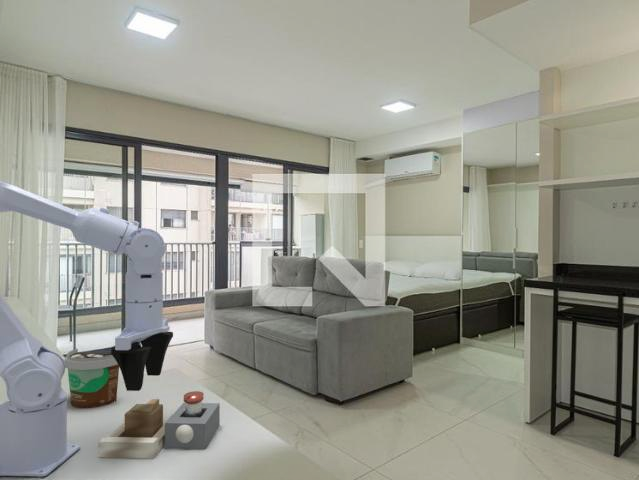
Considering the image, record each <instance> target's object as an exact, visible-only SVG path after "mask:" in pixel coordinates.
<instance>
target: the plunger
mask: <svg viewBox="0 0 639 480" xmlns="http://www.w3.org/2000/svg"><path fill="white" fill-rule="evenodd" d="M204 395H205V394H204V392H203V391H199V390H195V391H194V390H193V391H189V392H186V393H185V394H184V395H183V403H184V402H185V403H186V417H200V418H201V416H202V403H203V402H202V401H204V399H205V398H204Z"/></svg>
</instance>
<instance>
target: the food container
mask: <svg viewBox="0 0 639 480" xmlns="http://www.w3.org/2000/svg"><path fill="white" fill-rule="evenodd" d="M64 362H65V369H67V376H68V384H69V385H68V386H69V395H70V398H69V399H70V404H71V406H72V407H73V408H76V409H93V408H94V409H95V408H99V407H103V406H108V405H110V403H111V404H113V403H115V402H117V400H118V399H117V398H118V396H117V395H118V387H119V386H118V385H119V373H120V367H119V365H118V363H117V361H116V360H115V358H114V357H113V356H112V354H111V355H106V354H102V353H98V352H95V353H81V352H79V349H78V348H75V349H72V350H70V351H68V352H67V354H66V356H65V358H64ZM114 401H115V402H114ZM112 402H113V403H112Z"/></svg>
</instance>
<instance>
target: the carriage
mask: <svg viewBox="0 0 639 480" xmlns="http://www.w3.org/2000/svg"><path fill="white" fill-rule="evenodd" d="M124 423H125V437H142V438H152V437H153V436H154V435H155V434H156V433H157V432H158V431H159V430H160V429H161V427H162V426H163V425H164V404H162V403H161V404H160V403H159V404H146V403H136V404H135V405H134V406H132V407H131V408H130V409H129V410H128V411H127V412H125V413H124Z"/></svg>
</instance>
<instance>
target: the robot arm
mask: <svg viewBox="0 0 639 480" xmlns="http://www.w3.org/2000/svg"><path fill="white" fill-rule="evenodd" d="M6 212H15V213H19V214H22V215H25V216H28V217H30V218H34V219H36V220H40V221H44V222H45V223H48V224H52V225H54V226H59V227H62V228H64V229H67V230H70V232H71V233H72V236H73V238H74V239H75V241H76V242H77V243H81V244H84V245H86V246H89V247H92V248H96V249H98V250H100V251H103V252H107V253H110V254H112V255H115V256H119V255H121V254H125V256H126V257H127V259H126V273H125V293H124V294H125V297H124V298H125V302H124V303H125V304H124V305H125V309H124V311H125V318H124V319H125V324H124V325H125V327H124V328H123V329H122V331H121V332H120V334H119V335H118V336H115V337H114V346H111V347H110V354H111V355H112V356H113V357H114V358H115V360H116V361H117V363H118V365H119V371H120V372H121V375H122V378H123V383H124V385H125V389H126V391H128V392H134V391H135V392H139V391H141V390H142V388H143V385H144V377H145V376H144V375H145V372H146V376H153V377H154V376H155V377H156V376H158V377H159V376H160V375H161V373H162V369H163V366H164V361H165V356H166V353H167V350H168V348H169V345H170V342H171V341H172V339H173V337H174V332H173V331H170V329H171V328H170V327H171V326H170V325H169V318H164V313H163V312H164V308H163V307H164V305H163V304H164V303H163V302H164V301H163V300H164V292H163V291H164V290H163V289H164V285H163V283H164V279H163V278H164V277H163V276H164V274H163V272H162V271H163V261H162V258H163V257H164V254H165V253H166V251H167V245H165V241H164V239H163V237H162V236H161V234H160V233H159V232H158V231H156V230H154V229H151V228H145V227H140V228H139V226H140V222H138V221H137V220H132V221H128V220H125V219H123V218H120V217H118V216H115V215H113V214H110V210H109V209H107V208H105V207H100V209H96V208H94V207H89V208H87V209H84V210H81V211H79V210H76V209H72V208H70V207H68V206H66V205H64V204H60V203H58V202H55V201H54V200H53V201H52V200H51V199H48V198H46V197H43V196H40V195H38V194H35V193H33V192H31V191H28V190H26V189H23V188H20V187H18V186H16V185H13V184H10V183H7V182H3V181H0V213H6ZM64 361H65V358H63V357H62V356H61V354H59V353H57V352H56V351H54V350H51V349H49V348H48V347H46V346H45V344H43V342H42V341H41V340H40V339H39V338H38V337H36V336H35V335H33V334H32V333H31V332H30V331H29V329H27V327H26V326H25V324H24V323H23V322H22V321H21V319H20V318H19V316H18V315H17V314H16V313H15V311H14V310H13V309H12V308H11V306H10V305H9V304H8V303H7V300H6V299H5V298H4V297H3V296H2V294H1V293H0V377H1V378H2V380H3V381H4V383H5V390H6V397H7V399H8V400H7V401H5V402H2V403H0V476H1V477H2V476H7V477H8V476H9V477H46V476H48V475H49V474H50V473H52V471H54V470H55V469H56V468H58V467H59V466H60V465H61V464H63V463H64V462H65V461H66V460H68V458H70V457H71V456H72V455H74V454H75V453H76V452H77V451H78V450H79V449H80V448H81V445H80V444H68V394H67V393H68V392H67V391H66V390H64V389H63V388H62V380H63V377H64V375H65V372H66V368H65V362H64ZM145 370H146V371H145Z"/></svg>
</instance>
